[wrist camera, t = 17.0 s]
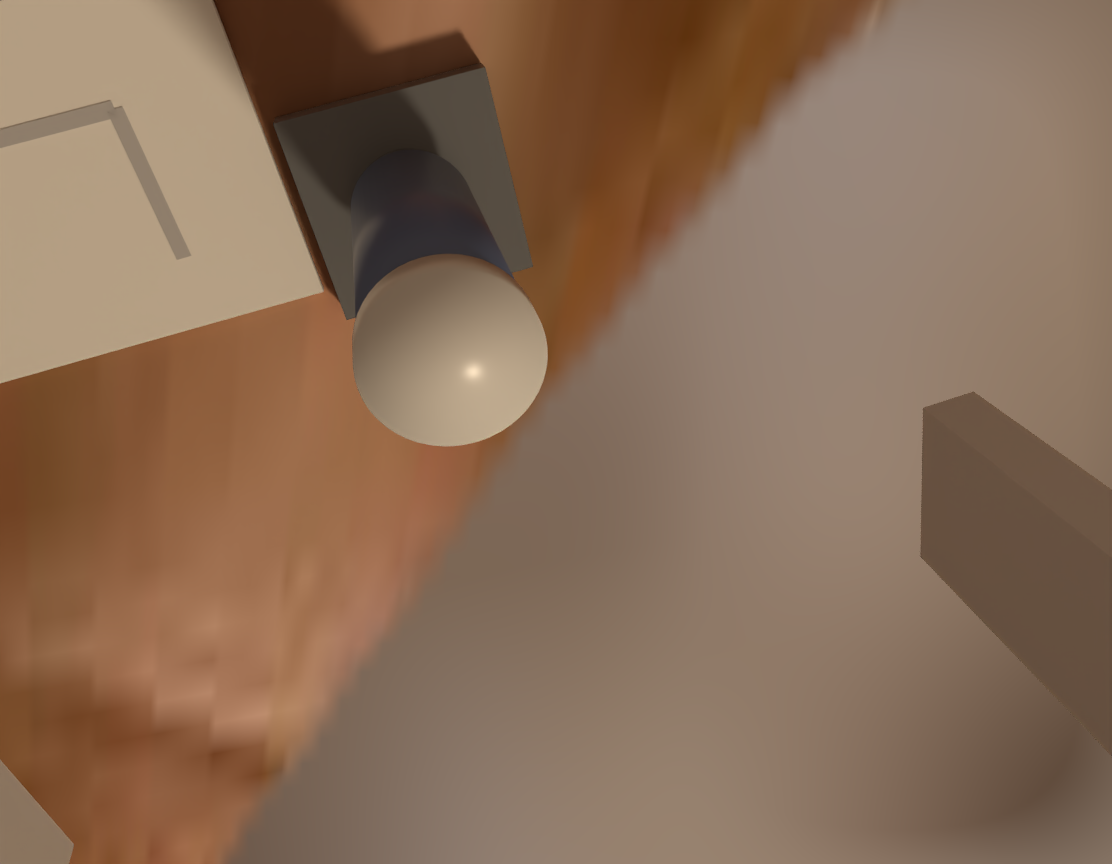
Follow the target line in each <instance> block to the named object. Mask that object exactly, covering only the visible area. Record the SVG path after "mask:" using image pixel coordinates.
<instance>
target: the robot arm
mask: <svg viewBox="0 0 1112 864" xmlns="http://www.w3.org/2000/svg"><path fill="white" fill-rule="evenodd" d="M922 445H923V446H922V504H921V507H922V508H921V558H922V559H923V560H924V561H925V562H926V563H927V564H928V565H929V566H930V567H931V568H932V569H933V570H934V571H935V572H936V573H937V574H938V575H939V576H940V577H941V579H942V580H943V581H944V582H945V583H946V584H947V585H948V586H949V587H950V588H951V589H952V590H953V591H954V592H955V593H956V594H957V595H958V596H959V597H960V598H961V599H962V600H963V601H964V603H965V604H967V606H968V607H969V608H970V609H971V610H972V611H973V612H974V613H975V614H976V615H977V616H978V617H979V618H980V619H981V620H982V621H983V622H984V623H985V624H986V625H987V627H989V629H990V630H991V631H992V632H993V633H994V634H995V635H996V636H997V637H998V638H999V639H1000V640H1001V641H1002V642H1003V643H1004V644H1005V645H1006V646H1007V647H1008V648H1009V649H1010V650H1011V651H1012V653H1013V654H1014V655H1015V656H1016V657H1017V658H1018V659H1019V660H1020V661H1021V662H1022V663H1023V664H1024V665H1025V666H1026V667H1027V668H1028V669H1029V670H1030V671H1031V672H1032V673H1033V674H1034V675H1035V676H1036V678H1037V679H1039V681H1040V682H1041V683H1042V684H1043V685H1044V686H1045V687H1046V688H1047V689H1048V690H1049V691H1050V692H1051V693H1052V694H1053V695H1054V696H1055V697H1056V698H1057V699H1058V701H1059V702H1060V703H1061V704H1062V705H1063V706H1064V707H1065V708H1066V709H1067V710H1068V711H1069V712H1070V713H1071V714H1072V715H1073V716H1074V717H1075V718H1076V719H1077V720H1078V721H1079V722H1080V724H1082V726H1084V728H1085V729H1086V730H1087V731H1088V732H1089V733H1090V734H1091V735H1092V736H1093V737H1094V738H1095V739H1096V740H1097V741H1098V742H1099V743H1100V744H1101V745H1102V746H1103V747H1104V749H1106V751H1107V752H1108V753H1109V754H1110V755H1111V756H1112V490H1111V489H1110V488H1109V487H1107V486H1106V485H1104V484H1103V483H1102V482H1100V481H1099V480H1097V479H1096V478H1094V477H1093V476H1092V475H1090V474H1089V473H1087V472H1086V471H1084V470H1083V469H1082V468H1080V467H1079V466H1077V465H1076V464H1075V463H1073V462H1072V461H1070V460H1069V459H1068V458H1066V457H1065V456H1063V455H1062V454H1061V453H1059V452H1058V451H1056V450H1055V449H1054V448H1052V447H1051V446H1049V445H1048V444H1046V443H1045V442H1044V441H1042V440H1041V439H1039V438H1038V437H1037V436H1035V435H1034V434H1032V433H1031V432H1030V431H1028V430H1027V429H1025V428H1024V427H1023V426H1021V425H1020V424H1018V423H1017V422H1015V421H1014V420H1013V419H1011V418H1010V417H1008V416H1007V415H1005V414H1004V413H1002V412H1001V411H1000V410H999V409H997V408H996V407H994V406H993V405H992V404H990V403H989V402H987V401H986V400H984V399H983V398H982V397H980V396H979V395H977V394H976V393H975V392H971V393H968V394H965V395H962V396H959V397H955V398H952V399H949V400H946V401H943V402H940V403H937V404H934V405H931V406H928V407H925V408H923V444H922ZM73 846H74V844H73V843H72V842H71V841H70V839H69V838H68V837H67V836H66V835H65V834H64V832H63V831H62V830H61V829H60V828H59V827H58V826H57V824H56V823H55V822H54V821H53V820H52V819H51V818H50V816H49V815H48V814H47V813H46V812H45V811H44V810H43V808H42V807H41V806H40V805H39V804H38V803H37V802H36V800H35V799H34V798H33V797H32V796H31V795H30V793H29V792H28V791H27V790H26V789H25V788H24V787H23V785H22V784H21V783H20V782H19V781H18V780H17V779H16V777H15V776H14V775H13V774H12V773H11V772H10V771H9V769H8V768H7V767H6V766H5V765H4V764H3V763H2V761H1V760H0V864H69V861H70V858H71V854H72V850H73Z"/></svg>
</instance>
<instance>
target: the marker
mask: <svg viewBox="0 0 1112 864" xmlns="http://www.w3.org/2000/svg"><path fill="white" fill-rule="evenodd" d="M351 231H352V252H353V273H354V294H355V316H356V320H355V323H354V329H353V335H352V351H353V370H354V377H355V381H356V384H357V388H358V391H359V393H360V395H361V397H362V399H363V401H364V403H365V404H366V406H367V407H368V409H369V410H370V411H371V413H372V414H373V415H374V416H375V417H376V418H377V419H378V420H379V421H380V422H381V423H382V424H384V425H385V426H386V427H387V428H389V429H390V430H392V431H393V432H395V433H397V434H399V435H401V436H403V437H405V438H407V439H410V440H412V441H415V442H418V443H423V444H427V445H435V446H458V445H466V444H470V443H474V442H478V441H481V440H484V439H486V438H489V437H491V436H493V435H495V434H497V433H499V432H501V431H502V430H504V429H505V428H507V427H508V426H510V425H511V424H512V423H514V422H515V421H516V420H517V419H518V418H519V417H520V416H521V415H522V414H523V413H524V412H525V411H526V410H527V409H528V407H529V406H530V405H531V403H532V402H533V401H534V399H535V397H536V395H537V394H538V392H539V390H540V387H541V385H542V382H543V380H544V376H545V372H546V367H547V359H548V356H547V342H546V336H545V333H544V330H543V326H542V324H541V322H540V320H539V318H538V316H537V314H536V312H535V310H534V308H533V306H532V304H531V302H530V300H529V298H528V296H527V295H526V293H525V292H524V290H523V289H522V287H521V286H520V285H519V284H518V283H517V282H516V281H515V279H514V277H513V275H512V273H511V271H510V269H509V267H508V265H507V263H506V261H505V259H504V257H503V255H502V253H501V251H500V249H499V247H498V245H497V243H496V241H495V239H494V237H493V235H492V233H491V231H490V229H489V227H488V225H487V222H486V220H485V218H484V216H483V214H482V212H481V210H480V208H479V206H478V204H477V202H476V200H475V198H474V196H473V194H472V192H471V190H470V188H469V186H468V184H467V182H466V180H465V179H464V177H463V176H462V174H461V173H460V172H459V171H458V170H457V169H456V168H455V167H454V166H453V165H452V164H451V163H450V162H448V161H447V160H445V159H444V158H442V157H440V156H438V155H436V154H433V153H430V152H426V151H422V150H416V149H400V150H395V151H392V152H389V153H387V154H385V155H383V156H382V157H380V158H379V159H377V160H376V161H375V162H373V163H372V164H371V165H370V166H369V167H368V168H367V169H366V170H365V171H364V172H363V174H362V175H361V176H360V178H359V180H358V181H357V183H356V186H355V188H354V191H353V194H352V199H351Z"/></svg>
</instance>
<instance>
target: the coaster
mask: <svg viewBox="0 0 1112 864" xmlns="http://www.w3.org/2000/svg"><path fill="white" fill-rule="evenodd" d="M273 125H274V128H275V130H276V133H277V136H278V138H279V141H280V144H281V146H282V149H283V152H284V154H285V157H286V160H287V162H288V165H289V168H290V170H291V173H292V176H293V178H294V181H295V184H296V186H297V189H298V192H299V194H300V197H301V200H302V202H303V205H304V208H305V210H306V213H307V216H308V218H309V221H310V224H311V226H312V229H313V232H314V234H315V237H316V240H317V242H318V245H319V248H320V250H321V253H322V256H323V258H324V261H325V264H326V266H327V269H328V271H329V274H330V277H331V279H332V282H333V285H334V287H335V290H336V293H337V295H338V298H339V301H340V303H341V306H342V309H343V311H344V314H345V317H346V319H347V320H348V319H352V318H355V317H356V316H355V294H354V273H353V252H352V231H351V199H352V194H353V191H354V188H355V186H356V183H357V181H358V180H359V178H360V176H361V175H362V174H363V172H364V171H365V170H366V169H367V168H368V167H369V166H370V165H371V164H372V163H373V162H375V161H376V160H377V159H379V158H380V157H382V156H383V155H385V154H387V153H389V152H392V151H395V150H400V149H416V150H422V151H426V152H430V153H433V154H436V155H438V156H440V157H442V158H444V159H445V160H447V161H448V162H450V163H451V164H452V165H453V166H454V167H455V168H456V169H457V170H458V171H459V172H460V173H461V174H462V176H463V177H464V179H465V180H466V182H467V184H468V186H469V188H470V190H471V192H472V194H473V196H474V198H475V200H476V202H477V204H478V206H479V208H480V210H481V212H482V214H483V216H484V218H485V220H486V222H487V225H488V227H489V229H490V231H491V233H492V235H493V237H494V239H495V241H496V243H497V245H498V247H499V249H500V251H501V253H502V255H503V257H504V259H505V261H506V263H507V265H508V267H509V269H510V271H511V273H513V272H516V271H520V270H523V269H527V268H530V267H533V265H532V260H531V256H530V252H529V248H528V244H527V240H526V235H525V231H524V227H523V223H522V219H521V215H520V210H519V206H518V202H517V198H516V194H515V190H514V185H513V181H512V177H511V173H510V169H509V165H508V160H507V156H506V152H505V148H504V144H503V140H502V135H501V131H500V127H499V123H498V119H497V115H496V110H495V106H494V102H493V98H492V94H491V90H490V85H489V81H488V77H487V73H486V69H485V66H484V65H483V64H482V63H478V64H474V65H470V66H467V67H463V68H459V69H455V70H452V71H448V72H444V73H441V74H437V75H433V76H429V77H426V78H422V79H418V80H414V81H411V82H407V83H403V84H399V85H396V86H392V87H388V88H384V89H381V90H377V91H373V92H370V93H366V94H362V95H358V96H355V97H351V98H347V99H343V100H340V101H336V102H332V103H328V104H325V105H321V106H317V107H313V108H310V109H306V110H302V111H298V112H295V113H291V114H287V115H284V116H280V117H276V118H275V119H274V122H273Z"/></svg>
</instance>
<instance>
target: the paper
mask: <svg viewBox="0 0 1112 864" xmlns="http://www.w3.org/2000/svg"><path fill="white" fill-rule="evenodd" d="M321 292H324V288H323V285H322V283H321V280H320V277H319V275H318V272H317V270H316V267H315V264H314V262H313V259H312V256H311V254H310V251H309V249H308V246H307V243H306V241H305V238H304V236H303V233H302V230H301V228H300V225H299V223H298V220H297V217H296V215H295V212H294V209H293V207H292V204H291V202H290V199H289V196H288V194H287V191H286V189H285V186H284V183H283V181H282V178H281V176H280V173H279V170H278V168H277V165H276V162H275V160H274V157H273V155H272V152H271V149H270V147H269V144H268V142H267V139H266V136H265V134H264V131H263V129H262V126H261V123H260V121H259V118H258V115H257V113H256V110H255V108H254V105H253V102H252V100H251V97H250V95H249V92H248V89H247V87H246V84H245V82H244V79H243V76H242V74H241V71H240V68H239V66H238V63H237V61H236V58H235V55H234V53H233V50H232V48H231V45H230V42H229V40H228V37H227V34H226V32H225V29H224V27H223V24H222V21H221V19H220V16H219V14H218V11H217V8H216V6H215V3H214V1H213V0H1V1H0V383H3V382H6V381H10V380H13V379H17V378H20V377H24V376H27V375H31V374H35V373H38V372H42V371H45V370H49V369H52V368H56V367H59V366H63V365H66V364H70V363H73V362H77V361H80V360H84V359H88V358H91V357H95V356H98V355H102V354H105V353H109V352H112V351H116V350H119V349H123V348H126V347H130V346H133V345H137V344H141V343H144V342H148V341H151V340H155V339H158V338H162V337H165V336H169V335H172V334H176V333H179V332H183V331H186V330H190V329H193V328H197V327H201V326H204V325H208V324H211V323H215V322H218V321H222V320H225V319H229V318H232V317H236V316H239V315H243V314H246V313H250V312H254V311H257V310H261V309H264V308H268V307H271V306H275V305H278V304H282V303H285V302H289V301H292V300H296V299H299V298H303V297H307V296H310V295H314V294H317V293H321Z"/></svg>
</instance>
